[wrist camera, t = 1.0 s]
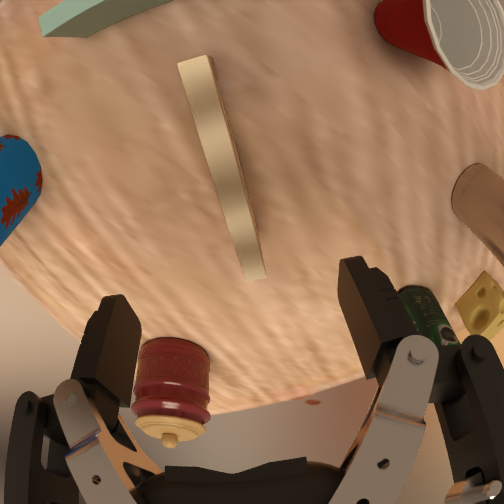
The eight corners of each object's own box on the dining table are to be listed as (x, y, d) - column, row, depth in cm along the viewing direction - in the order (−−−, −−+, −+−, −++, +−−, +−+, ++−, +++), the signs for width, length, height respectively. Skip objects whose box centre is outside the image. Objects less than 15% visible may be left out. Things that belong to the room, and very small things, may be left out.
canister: (125, 344, 46) (110, 436, 32) (187, 328, 44) (182, 434, 30) (165, 376, 54) (160, 456, 40) (221, 365, 52) (225, 453, 38)
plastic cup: (412, 89, 24) (490, 119, 14) (334, 29, 20) (401, 20, 11) (448, 26, 18) (527, 37, 9) (377, -37, 15) (450, -61, 5)
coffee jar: (377, 314, 47) (415, 406, 32) (402, 281, 42) (453, 377, 27) (412, 317, 49) (450, 397, 34) (436, 288, 44) (483, 370, 30)
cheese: (483, 269, 44) (509, 304, 36) (497, 281, 47) (519, 312, 39) (452, 305, 49) (473, 341, 41) (469, 312, 53) (488, 344, 45)
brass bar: (190, 62, 22) (176, 63, 15) (211, 56, 21) (206, 54, 15) (241, 234, 34) (246, 282, 28) (258, 230, 34) (266, 278, 28)
